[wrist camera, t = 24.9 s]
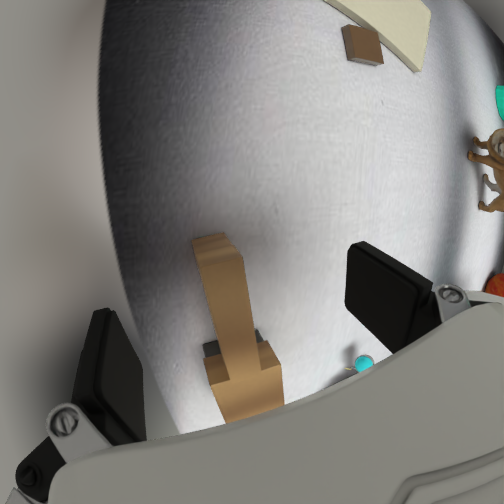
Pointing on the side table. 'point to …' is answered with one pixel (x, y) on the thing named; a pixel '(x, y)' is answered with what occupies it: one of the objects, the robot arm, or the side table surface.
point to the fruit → (496, 285)
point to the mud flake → (362, 45)
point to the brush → (235, 336)
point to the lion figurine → (500, 159)
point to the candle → (500, 100)
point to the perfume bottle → (362, 363)
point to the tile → (393, 25)
